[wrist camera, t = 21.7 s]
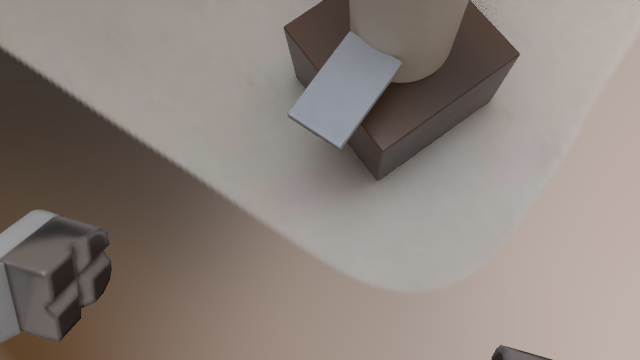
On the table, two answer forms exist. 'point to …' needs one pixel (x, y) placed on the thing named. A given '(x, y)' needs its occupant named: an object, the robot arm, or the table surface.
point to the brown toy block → (413, 97)
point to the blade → (376, 61)
